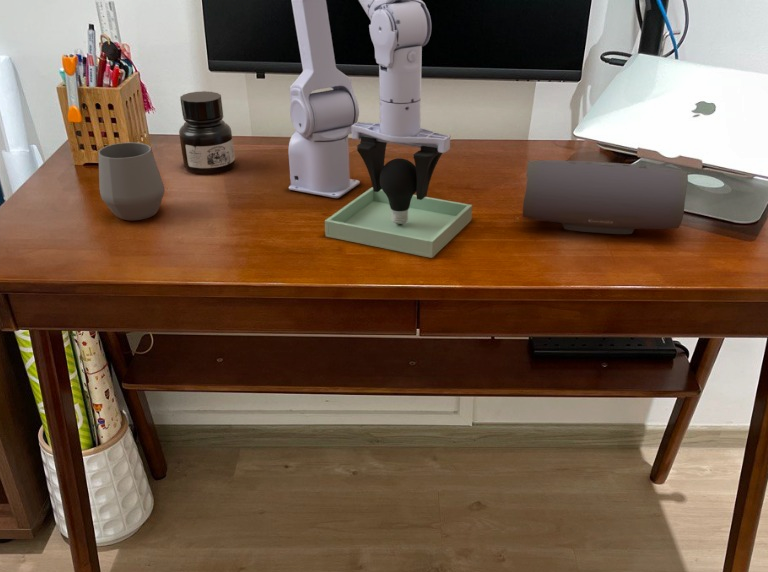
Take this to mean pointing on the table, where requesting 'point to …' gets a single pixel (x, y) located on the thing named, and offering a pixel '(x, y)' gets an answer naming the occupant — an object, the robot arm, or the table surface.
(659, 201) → the bluetooth speaker
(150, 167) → the cup
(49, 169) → the table surface
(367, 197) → the tray
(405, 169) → the light bulb
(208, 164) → the ink bottle
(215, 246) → the table surface
